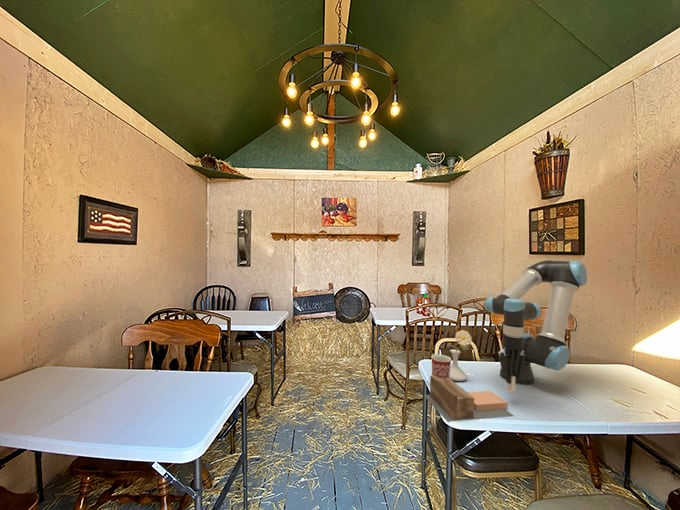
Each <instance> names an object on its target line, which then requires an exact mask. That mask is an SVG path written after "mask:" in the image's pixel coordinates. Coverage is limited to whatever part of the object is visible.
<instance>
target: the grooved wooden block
mask: <svg viewBox="0 0 680 510" xmlns="http://www.w3.org/2000/svg"><path fill="white" fill-rule="evenodd" d="M429 380H430V384H429V387H430V388H429V389H430V390H429V395H430V396H431V397H432V398H433V399H434V401H435V402H436V403H437V404H438V405H439V406H440V407H441V408H442V409H443V410H444V411H445V412H446V413H447V414H448V415H449V416H450V417H451V418H452V419H464V418H474V397H472V396H471V395H470V394H469V393H467V390H464V389H463V388H462V387H461V386H460V385H458V383H456V381H454V380H451V379H450V378H437V377H435V376H434V375H432V374H431V375H430V379H429Z"/></svg>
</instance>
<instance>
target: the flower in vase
mask: <svg viewBox="0 0 680 510" xmlns="http://www.w3.org/2000/svg"><path fill="white" fill-rule="evenodd" d="M455 333H456V334H455V338H454V339H455V340H456V341H455V342H457V344H459V347H458V348H457V346H454V345H453V344H450V346H451V347H453V348H454V349H450V350H449V351H450V353H451V355H452V364H451V365H450V375H449V378H450V379H451V380H452V381H453V382H461V381H465V380H467V378H468V375H467V373H465V372H464V371H463V369H461V368H460V366H459V364H458V363H459V362H458V361H459V355H460V354H461V352H462V351H460V350H459V349H460V348H461V349H462V350H464V351H467V350H469V349H470V347H469V345H470V344H471V342H472V340H473V339H472V336H471V334H470V332H469V331H467V330H463V329H462V330H458V331H457V332H455Z"/></svg>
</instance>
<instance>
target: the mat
mask: <svg viewBox="0 0 680 510" xmlns="http://www.w3.org/2000/svg"><path fill="white" fill-rule="evenodd" d="M423 397H424V398H425V399H426V400H427V401H428V402H429V403H430V405H432V406H433V408H434V409H435V410H437V412H438V414H440V415H441V416H442V417H443V419H444V420H446V422H448V423H450V422H457V421H458V422H459V421H461V422H462V421H472V420H484V419H485V420H486V419H495V418H509V417H515V414H513V413H511V412H510V411H508V409H500V410H487V411H475V410H474V418H464V419H452V418H451V417H450V416H449V415H448V414H447V413H446V412H445V411H444V410H443V409H442V408H441V407H440V406H439V405H438V404H437V403H436V402H435V401H434V399H433V398H432V397H431V396H430V394H424V395H423Z"/></svg>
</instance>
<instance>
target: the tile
mask: <svg viewBox="0 0 680 510" xmlns="http://www.w3.org/2000/svg"><path fill="white" fill-rule="evenodd" d="M466 392H467V391H466ZM467 393H469V394H470V395H471V396H472V397H474V410H475V411H487V410H500V409H506V410H508V401H506V400H505V399H504V398H502V397H500V396H499V395H498V394H496V393H494V392H493V391H492V390H486V391H485V390H484V391H469V392H467Z"/></svg>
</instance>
